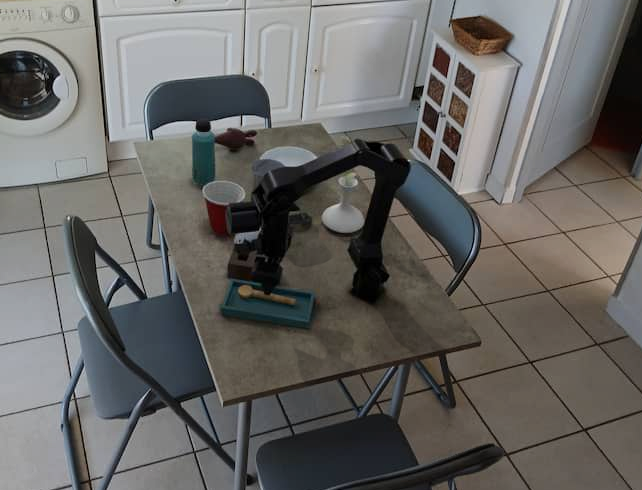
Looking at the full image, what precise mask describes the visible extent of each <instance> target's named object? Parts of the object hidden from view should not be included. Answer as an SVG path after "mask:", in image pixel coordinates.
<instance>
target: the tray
mask: <svg viewBox="0 0 642 490" xmlns="http://www.w3.org/2000/svg"><path fill="white" fill-rule="evenodd" d="M243 285H249V286H251V287H252V289H253V290H257V291H261V292H264V291H263V288H262V285H261V283H256V282H252V281H247V280H241V279H234V278H230V280H229V284H228V286H227V288H226V289H227V290H226V292H225V295H224V297H223V301H222V304H221V306H220V315H224V316H230V317H236V318H240V319H247V320H253V321H258V322H259V321H260V322H265V323H272V324H278V325H284V326H289V327H296V328H301V329H307V330H308V329H309V328H310V322H311V318H312V314H313V313H312V312H313V309H314V303H315V298H316V291H311V290H304V289H297V288H291V287H287V286H286V287H285V286H280V285H277V286H276V287H275V289H274V290H273V291H272V293H271V294H275V295H280V296H285V297H289V298H294V299H296V304H295V306H293V305H289V304H284V303H279V302H275V301H270V300H265V299H261V298H256V297H250V298H241V297H240V296H239V294H238V289H239V287H241V286H243Z"/></svg>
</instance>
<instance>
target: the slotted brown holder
mask: <svg viewBox="0 0 642 490" xmlns="http://www.w3.org/2000/svg"><path fill="white" fill-rule="evenodd" d="M267 260H268V257H267V256H265V255H264V254H263V255H257V250H256V251H252V252H250V253H249V254H246V255H239V254H237V252H236V251H234V247H233V248H232V251H231V253H230V256H229V259H228V262H227V278H230V279H237V280H243V281H249V282H252V281H251V272H252V269H253V266H254V263H256V262H257V261H264V262H267Z"/></svg>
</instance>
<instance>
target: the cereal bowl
mask: <svg viewBox="0 0 642 490" xmlns="http://www.w3.org/2000/svg"><path fill="white" fill-rule="evenodd" d="M317 158H318V157H317V156H316V154H314V153H313V152H311V151H309V150H307V149H305V148H301V147H297V146H278V147H274V148H271V149H269V150H267V151H264V153H263V154H262V155H261V156H260V158H259V160H262V159H272V160H276V161H279V162H281V163H282V164H284V165H285V166H290V167H297V166H300V165H303V164H305V163H308V162H310V161H312V160H314V159H317Z"/></svg>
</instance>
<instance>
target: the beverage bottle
mask: <svg viewBox="0 0 642 490" xmlns="http://www.w3.org/2000/svg"><path fill="white" fill-rule="evenodd" d="M211 125H212V124H211V121H210V120H209V119H207V118H206V119H205V118H199V119H197V120H196V121H195V127H194V128H195V131H194V132H193V133H192V135H191V157H192V158H191V160H192V161H191V162H192V163H191V168H192V169H191V176H192V180H193V183H195V184H197V185H199V186H205V185H207V184H208V183H211V182H214V181H216V180H215V179H216V148H215V147H216V143H215V136H216V135H215V134H214V132H213V131H211V130H212V126H211Z"/></svg>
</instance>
